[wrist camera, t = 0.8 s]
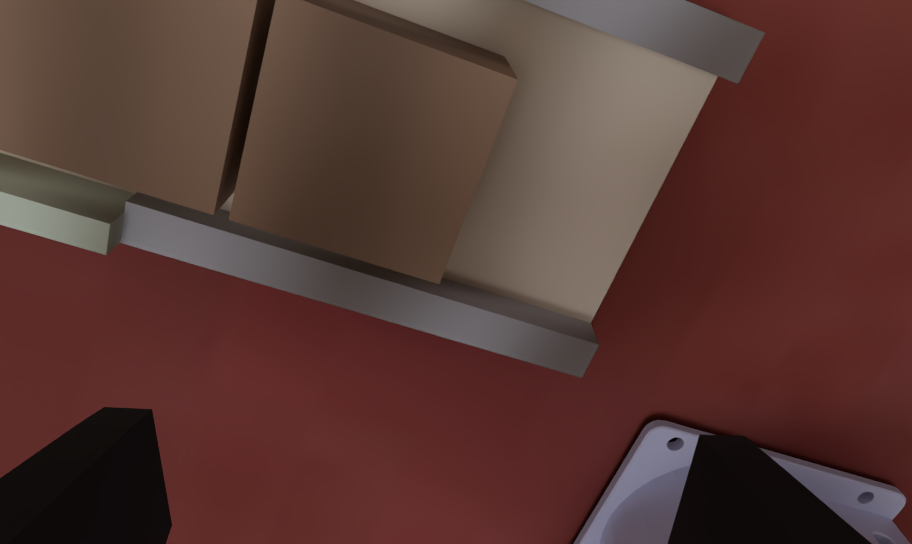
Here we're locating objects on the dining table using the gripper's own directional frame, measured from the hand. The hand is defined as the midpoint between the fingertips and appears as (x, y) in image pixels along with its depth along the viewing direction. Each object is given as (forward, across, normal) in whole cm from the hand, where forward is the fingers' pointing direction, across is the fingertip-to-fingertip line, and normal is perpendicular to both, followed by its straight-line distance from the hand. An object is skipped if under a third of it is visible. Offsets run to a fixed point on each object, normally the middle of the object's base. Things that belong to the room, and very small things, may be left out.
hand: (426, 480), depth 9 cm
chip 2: (+9, +6, -4) cm, 11 cm away
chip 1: (+9, +2, -3) cm, 9 cm away
